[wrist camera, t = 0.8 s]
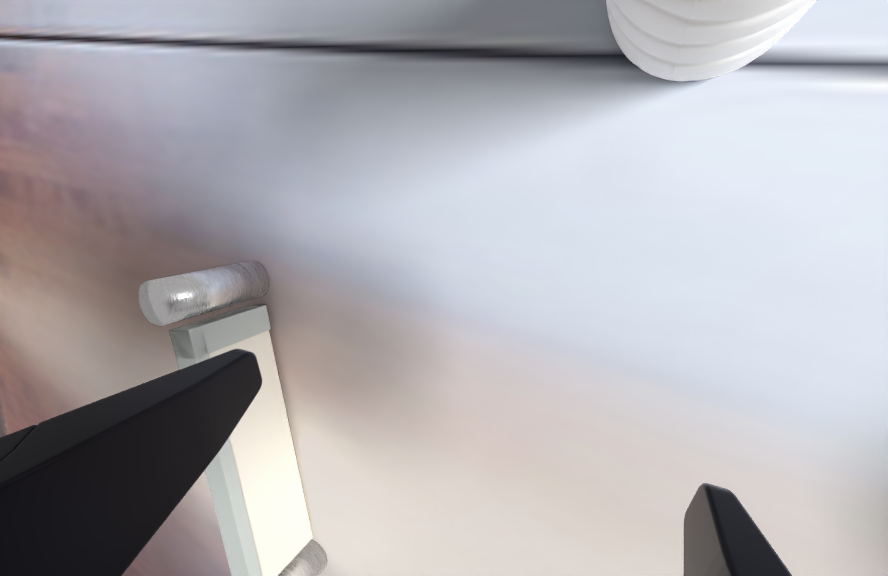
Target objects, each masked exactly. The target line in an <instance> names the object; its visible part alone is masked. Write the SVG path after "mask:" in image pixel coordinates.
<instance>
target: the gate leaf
mask: <svg viewBox="0 0 888 576" xmlns="http://www.w3.org/2000/svg"><path fill="white" fill-rule="evenodd" d="M270 329H271V327H270V322H269V317H268V313H267V308H266V305H259V306H246V307H243V308H240V309H237V310H233V311H230V312H227V313H224V314H220V315H217V316H214V317H211V318H208V319H204V320H201V321H198V322H195V323H191V324H188V325H185V326H182V327H178V328H175V329H172V330H169V331H170V335H171V339H172V343H173V347H174V351H175V355H176V359H177V363H178V367H179V370H180V369H183V368H186V367H188V366H191V365H194V364H196V363H199V362H201V361H204V360H207V359H209V358H212V357H215V356H217V355H220V354H223V353H225V352H228V351H230V350H233V349H243V350H246V351H250V352H252V353H254V354H255V355H256V358H257V361H258V365H259V369H260V372H261V376H262V386H261V388H260V390H259V392H258V394H257V395H256V397H255V398H254V400H253V401H252V403H251V404H250V406H249V407H248V409H247V411H246V412H245V414H244V415H243V417H242V418H241V420H240V421H239V423H238V424H237V426H236V427H235V429H234V430H233V432H232V434H231V435H230V437H229V438H228V440H227V441H226V443H225V444H224V445H223V447H222V448H221V450H220V451H219V452H218V454H217V455H216V456H215V458H214V459H213V460H212V462H211V463H210V464H209V465H208V467H207V468H206V469H205V473H206V477H207V481H208V485H209V489H210V492H211V496H212V500H213V504H214V508H215V512H216V516H217V520H218V524H219V528H220V532H221V536H222V540H223V544H224V548H225V551H226V555H227V559H228V563H229V567H230V571H231V575H232V576H278V575H279V574H280V573H281V571H282V570H283V569H284V568H285V567H286V566H287V565H288V564H289V563H290V562H291V561H292V560H293V558H294V557H295V556H296V555H297V554H298V553H299V552H300V551H301V550H302V549H303V548H304V547H305V546H306V544H307V543H308V542H309V541H310V540H311V539H312V538H313V535H312V531H311V526H310V521H309V517H308V512H307V507H306V502H305V498H304V493H303V488H302V484H301V479H300V474H299V469H298V465H297V460H296V455H295V451H294V446H293V441H292V436H291V432H290V427H289V422H288V418H287V413H286V408H285V403H284V399H283V394H282V389H281V385H280V380H279V375H278V371H277V366H276V361H275V356H274V352H273V347H272V342H271V338H270V333H269V330H270Z"/></svg>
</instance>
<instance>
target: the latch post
mask: <svg viewBox="0 0 888 576" xmlns="http://www.w3.org/2000/svg"><path fill="white" fill-rule="evenodd" d="M268 288H269V277H268V274H267V272H266V270H265V268H264V267H263V266H262V265H261V264H260V263H259V262H257V261H247V262H241V263H236V264H231V265H226V266H221V267H216V268H211V269H205V270H200V271H195V272H190V273H185V274H180V275H175V276H170V277H164V278H159V279H154V280H149V281H145V282H144V283H142V285H141V286H140V289H139V303H140V307H141V310H142V312H143V314H144V315H145V317H146V318H147V319H148V320H149V321H150V322H151V323H152V324H154V325H156V326H163V325H167V324H170V323H173V322H177V321H180V320H184V319H187V318H190V317H194V316H197V315H201V314H204V313H207V312H211V311H214V310H217V309H221V308H224V307H228V306H231V305H234V304H238V303H241V302H245V301H248V300H251V299H255V298H258V297H261V296H264V295H265V294H266V293H267V291H268Z"/></svg>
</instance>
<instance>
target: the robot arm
mask: <svg viewBox="0 0 888 576" xmlns="http://www.w3.org/2000/svg"><path fill="white" fill-rule="evenodd" d="M261 386H262V376H261V372H260V369H259V365H258V361H257V358H256V355H255V354H254V353H252V352H250V351H246V350H243V349H233V350H230V351H228V352H225V353H223V354H220V355H217V356H215V357H212V358H209V359H207V360H204V361H201V362H199V363H196V364H194V365H191V366H188V367H186V368H183V369H180V370H178V371H175V372H172V373H170V374H167V375H165V376H162V377H159V378H157V379H154V380H151V381H149V382H146V383H143V384H141V385H138V386H136V387H133V388H130V389H128V390H125V391H122V392H120V393H117V394H114V395H112V396H109V397H107V398H104V399H101V400H99V401H96V402H93V403H91V404H88V405H85V406H83V407H80V408H78V409H75V410H72V411H70V412H67V413H64V414H62V415H59V416H56V417H54V418H51V419H49V420H46V421H43V422H41V423H39V424H38V425H32V426H30V427H27V428H25V429H22V430H19V431H17V432H14V433H12V434H9V435H6V436H4V437H1V438H0V576H122V575H123V573H124V572H125V571H126V569H127V568H128V567H129V566H130V564H131V563H132V562H133V561H134V559H135V558H136V557H137V555H138V554H139V553H140V552H141V550H142V549H143V548H144V547H145V545H146V544H147V543H148V542H149V540H150V539H151V538H152V536H153V535H154V534H155V533H156V531H157V530H158V529H159V528H160V526H161V525H162V524H163V522H164V521H165V520H166V519H167V517H168V516H169V515H170V514H171V512H172V511H173V510H174V509H175V507H176V506H177V505H178V503H179V502H180V501H181V500H182V498H183V497H184V496H185V495H186V493H187V492H188V491H189V489H190V488H191V487H192V486H193V484H194V483H195V482H196V481H197V479H198V478H199V477H200V476H201V474H202V473H203V472H204V470H205V469H206V468H207V467H208V465H209V464H210V463H211V462H212V460H213V459H214V458H215V456H216V455H217V454H218V452H219V451H220V450H221V448H222V447H223V445H224V444H225V443H226V441H227V440H228V438H229V437H230V435H231V434H232V432H233V430H234V429H235V427H236V426H237V424H238V423H239V421H240V420H241V418H242V417H243V415H244V414H245V412H246V411H247V409H248V407H249V406H250V404H251V403H252V401H253V400H254V398H255V397H256V395H257V394H258V392H259V390H260V388H261ZM684 576H792V575H791V573H790V572H789V571H788V569H787V568H786V566H785V565H784V564H783V562H782V561H781V559H780V558H779V556H778V555H777V554H776V552H775V551H774V549H773V548H772V547H771V545H770V544H769V542H768V541H767V540H766V538H765V537H764V535H763V534H762V532H761V531H760V530H759V528H758V527H757V525H756V524H755V523H754V521H753V520H752V518H751V517H750V516H749V514H748V513H747V511H746V510H745V509H744V507H743V506H742V504H741V503H740V501H739V500H738V499H737V497H736V496H735V495H734V494H733V493H732V492H731V491H730V490H728V489H725V488H722V487H718V486H715V485H711V484H708V483H704V484H702V485H700V487H699V488H698V490H697V492H696V494H695V496H694V497H693V499H692V501H691V503H690V505H689V507H688V509H687V511H686V514H685V518H684Z"/></svg>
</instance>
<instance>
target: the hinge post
mask: <svg viewBox="0 0 888 576" xmlns="http://www.w3.org/2000/svg"><path fill="white" fill-rule="evenodd" d="M326 565H327V556H326V554H325V552H324V550H323V549H322V547H321V546H320V545H319V544H317V543H316V542H314V541H312V540H310V541H309V542H308V543H307V544H306V546H305V547H304V548H303V549H302V550H301V551H300V552H299V553H298V554H297V555H296V556H295V557H294V558H293V560H292V561H291V562H290V563H289V564H288V565H287V566H286V567H285V568H284V569H283V570H282V571H281V573H280V574H279V575H278V576H318V575H319V574H320V573H321V572H322V570H323V569H324V568H325V567H326Z"/></svg>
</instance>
